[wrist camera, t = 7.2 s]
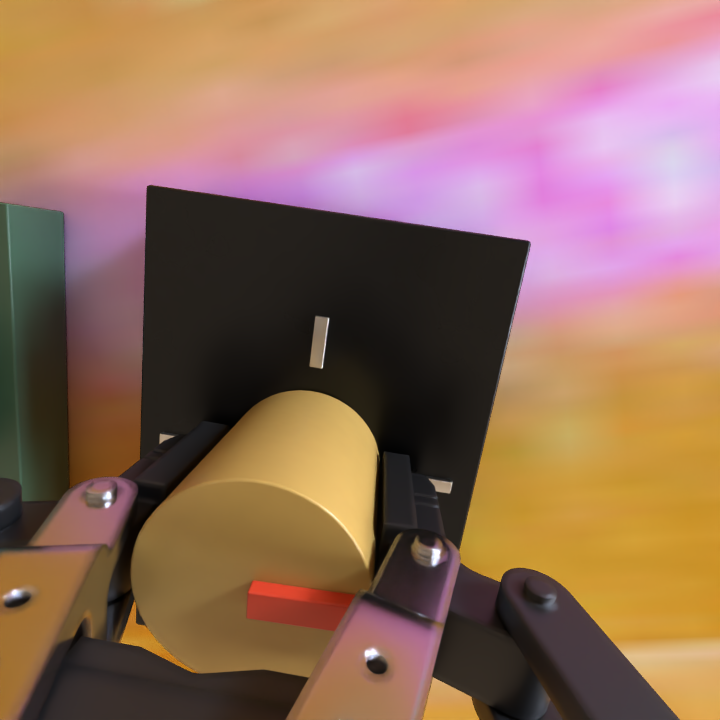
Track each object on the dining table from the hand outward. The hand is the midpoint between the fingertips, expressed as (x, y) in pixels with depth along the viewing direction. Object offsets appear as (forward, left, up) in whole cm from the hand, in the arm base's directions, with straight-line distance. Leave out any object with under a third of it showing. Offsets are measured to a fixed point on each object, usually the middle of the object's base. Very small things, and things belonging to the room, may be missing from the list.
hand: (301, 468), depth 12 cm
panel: (0, 0, -3) cm, 3 cm away
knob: (0, 0, 0) cm, 0 cm away
